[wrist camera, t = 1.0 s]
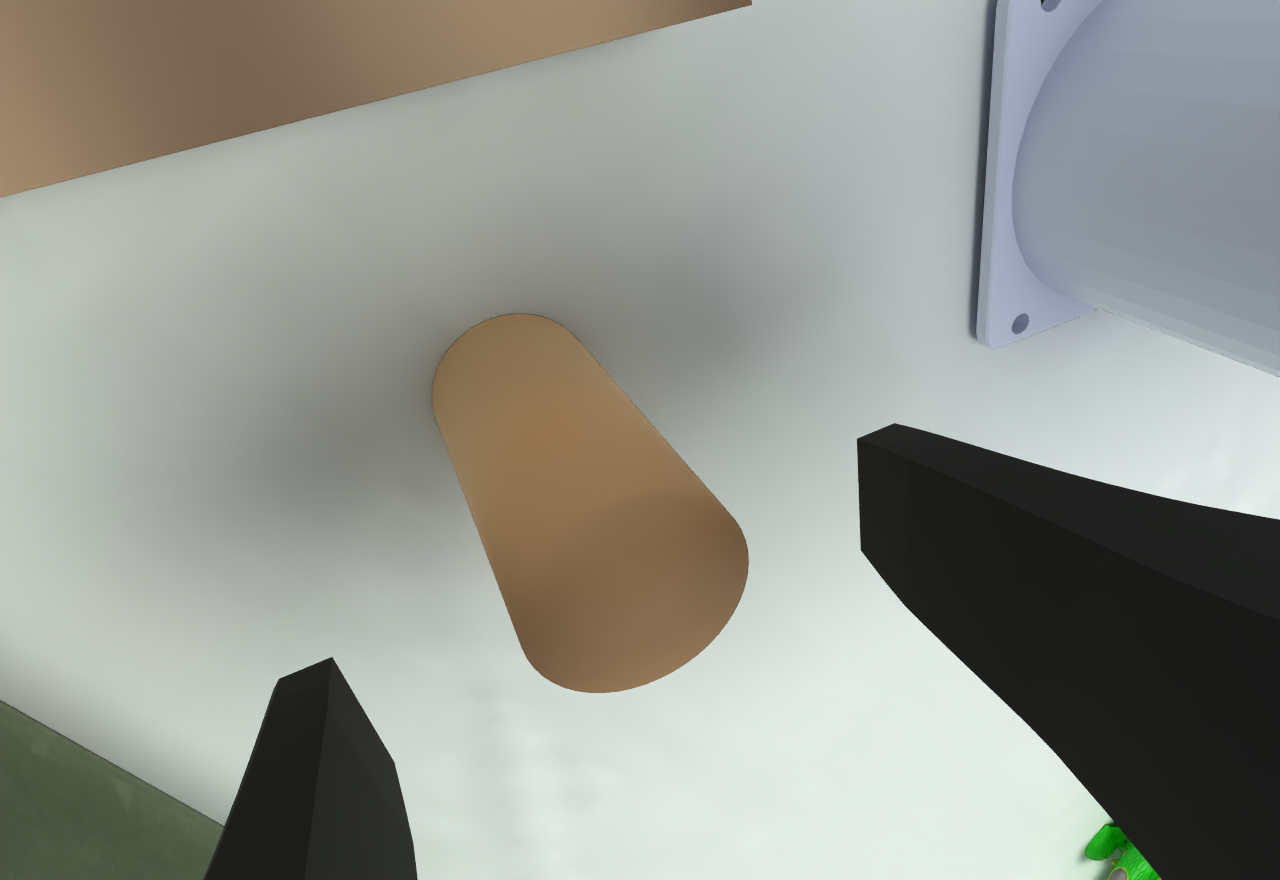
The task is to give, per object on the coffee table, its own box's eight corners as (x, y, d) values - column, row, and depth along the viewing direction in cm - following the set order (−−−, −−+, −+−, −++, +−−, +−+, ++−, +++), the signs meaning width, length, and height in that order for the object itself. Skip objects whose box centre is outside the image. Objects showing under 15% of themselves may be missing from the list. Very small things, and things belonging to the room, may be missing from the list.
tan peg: (572, 291, 15) (733, 453, 10) (606, 431, 17) (759, 632, 11) (407, 346, 14) (485, 553, 9) (461, 485, 16) (553, 728, 11)
